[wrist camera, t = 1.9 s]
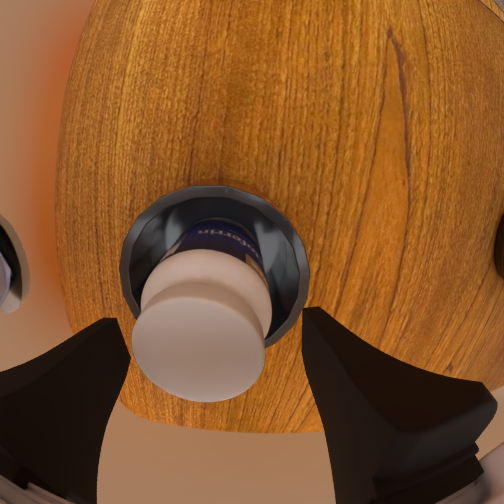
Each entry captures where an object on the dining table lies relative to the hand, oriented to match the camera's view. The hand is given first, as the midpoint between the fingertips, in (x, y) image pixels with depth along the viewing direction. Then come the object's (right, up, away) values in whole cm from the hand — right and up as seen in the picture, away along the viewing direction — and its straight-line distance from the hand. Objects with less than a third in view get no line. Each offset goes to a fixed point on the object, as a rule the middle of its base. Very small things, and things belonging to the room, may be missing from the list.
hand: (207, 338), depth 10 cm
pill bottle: (-1, +3, +8) cm, 9 cm away
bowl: (-1, +3, +9) cm, 9 cm away
